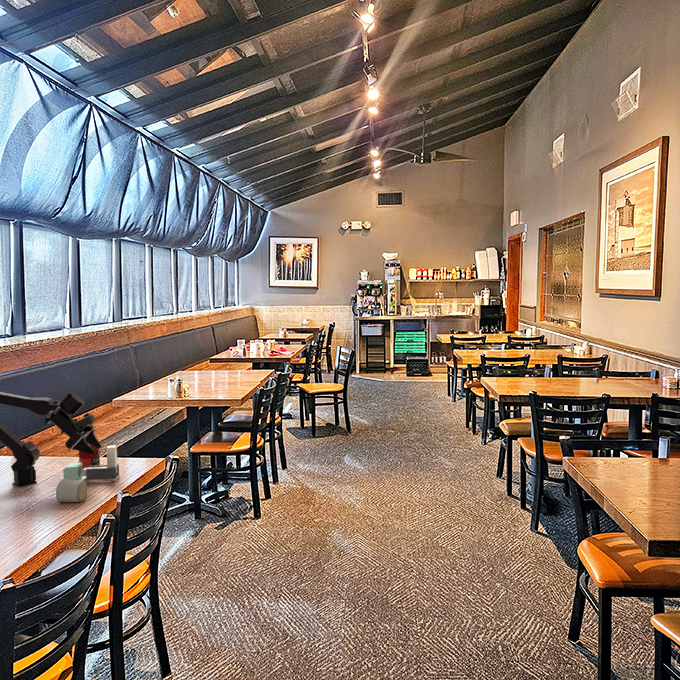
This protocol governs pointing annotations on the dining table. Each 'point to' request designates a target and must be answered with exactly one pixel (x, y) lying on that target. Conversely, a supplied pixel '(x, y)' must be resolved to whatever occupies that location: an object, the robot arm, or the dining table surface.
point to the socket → (73, 471)
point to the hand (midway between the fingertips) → (97, 450)
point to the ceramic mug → (71, 490)
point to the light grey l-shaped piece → (108, 459)
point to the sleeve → (101, 473)
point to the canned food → (89, 458)
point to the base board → (97, 480)
